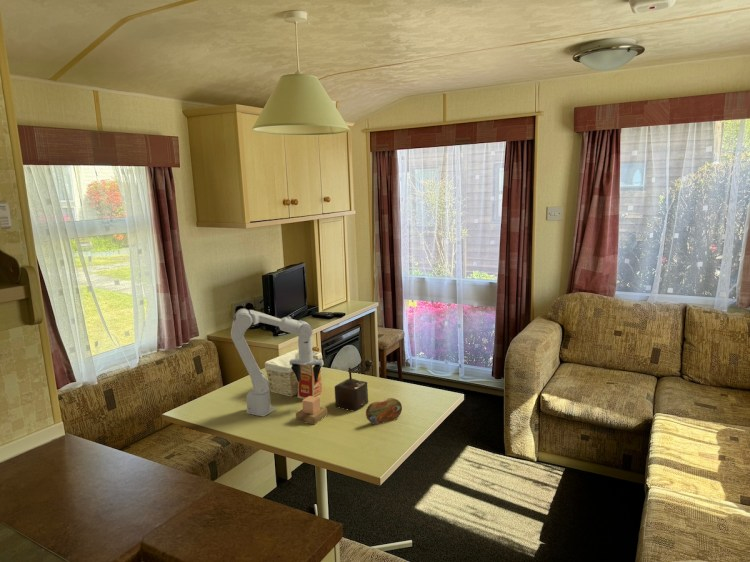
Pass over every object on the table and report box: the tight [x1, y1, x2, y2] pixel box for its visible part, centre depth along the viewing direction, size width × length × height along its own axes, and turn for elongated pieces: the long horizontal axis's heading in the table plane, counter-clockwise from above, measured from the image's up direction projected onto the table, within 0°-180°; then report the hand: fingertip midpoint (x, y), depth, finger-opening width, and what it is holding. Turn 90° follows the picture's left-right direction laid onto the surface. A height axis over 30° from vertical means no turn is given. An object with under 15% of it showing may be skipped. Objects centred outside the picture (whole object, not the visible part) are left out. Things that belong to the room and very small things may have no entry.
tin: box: [365, 397, 403, 425], centre depth 202 cm, size 15×3×8 cm, turn 117°
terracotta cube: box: [302, 396, 321, 414], centre depth 207 cm, size 5×5×5 cm
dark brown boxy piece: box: [334, 359, 374, 412], centre depth 219 cm, size 16×11×18 cm
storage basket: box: [264, 348, 323, 397], centre depth 242 cm, size 24×16×15 cm
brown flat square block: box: [295, 406, 328, 425], centre depth 207 cm, size 9×9×3 cm
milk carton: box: [297, 355, 323, 400], centre depth 230 cm, size 9×9×20 cm
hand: (307, 381), depth 220 cm, fingers open, 7 cm apart
